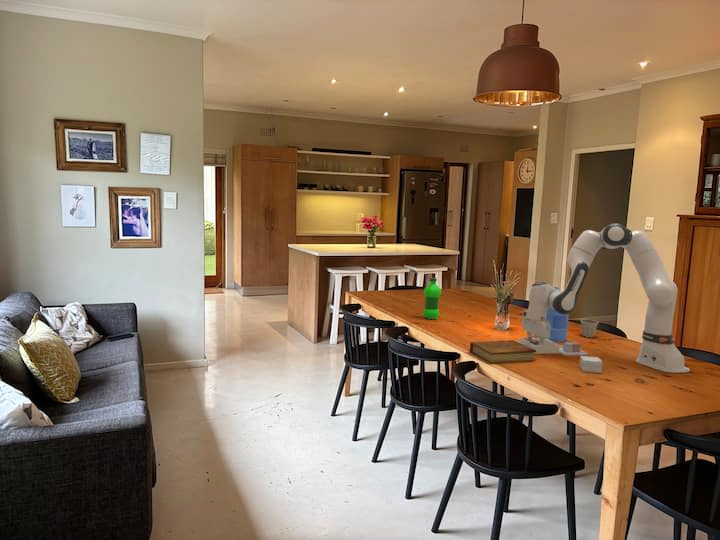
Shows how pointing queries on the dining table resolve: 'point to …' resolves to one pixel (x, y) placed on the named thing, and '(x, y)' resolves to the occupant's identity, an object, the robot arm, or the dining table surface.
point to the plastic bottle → (431, 299)
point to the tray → (571, 352)
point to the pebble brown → (576, 347)
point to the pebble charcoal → (534, 342)
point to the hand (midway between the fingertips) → (534, 343)
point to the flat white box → (541, 346)
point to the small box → (590, 364)
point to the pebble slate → (568, 347)
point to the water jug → (557, 325)
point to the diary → (502, 351)
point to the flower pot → (588, 327)
